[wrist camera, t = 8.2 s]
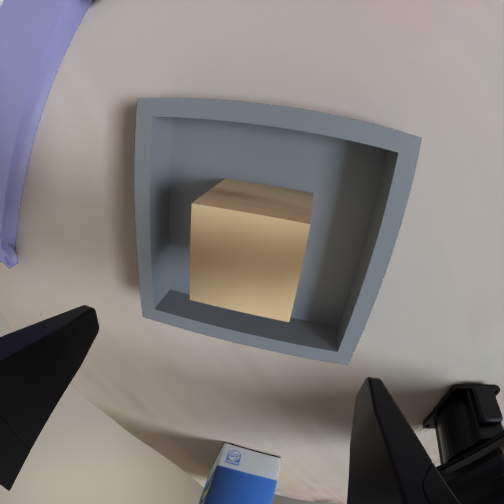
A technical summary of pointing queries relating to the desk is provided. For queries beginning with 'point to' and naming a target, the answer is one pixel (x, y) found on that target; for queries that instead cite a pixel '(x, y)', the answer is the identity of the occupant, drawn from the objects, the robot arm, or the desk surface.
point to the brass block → (249, 247)
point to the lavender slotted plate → (27, 92)
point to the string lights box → (241, 477)
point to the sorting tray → (282, 175)
